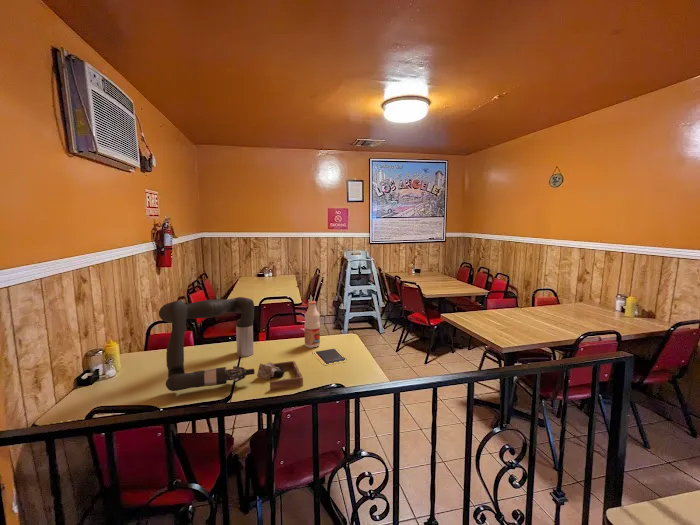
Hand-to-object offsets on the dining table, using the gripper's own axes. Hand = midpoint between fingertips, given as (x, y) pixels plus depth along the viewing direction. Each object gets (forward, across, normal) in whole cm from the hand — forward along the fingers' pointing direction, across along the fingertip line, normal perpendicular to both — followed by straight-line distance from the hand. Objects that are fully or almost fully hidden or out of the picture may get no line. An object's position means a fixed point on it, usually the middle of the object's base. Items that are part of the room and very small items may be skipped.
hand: (254, 371), depth 164 cm
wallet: (+43, +18, +7) cm, 47 cm away
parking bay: (+13, 0, +6) cm, 14 cm away
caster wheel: (+9, +5, +6) cm, 12 cm away
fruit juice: (+38, +38, +6) cm, 54 cm away
